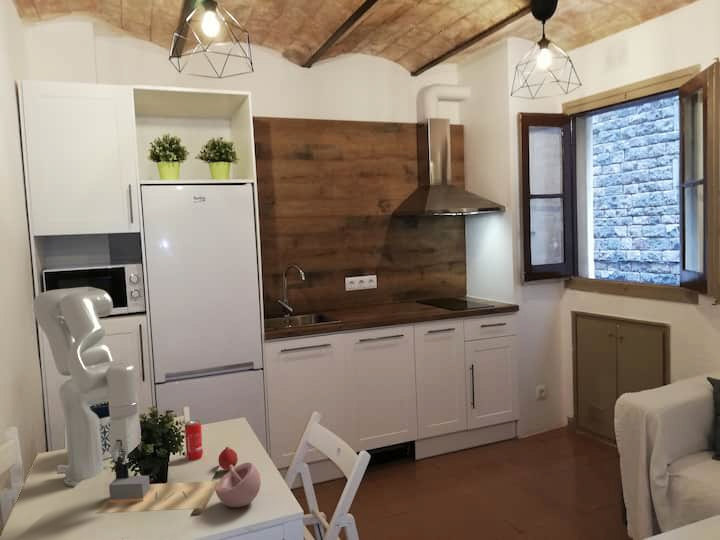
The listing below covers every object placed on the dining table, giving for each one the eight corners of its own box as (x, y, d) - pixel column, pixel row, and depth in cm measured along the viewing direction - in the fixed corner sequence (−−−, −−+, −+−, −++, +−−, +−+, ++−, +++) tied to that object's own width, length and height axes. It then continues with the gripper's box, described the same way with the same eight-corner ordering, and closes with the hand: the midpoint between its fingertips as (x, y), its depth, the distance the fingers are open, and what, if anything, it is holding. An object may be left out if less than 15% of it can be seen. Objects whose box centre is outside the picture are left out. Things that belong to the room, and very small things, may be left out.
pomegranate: (216, 470, 172) (214, 445, 171) (233, 465, 175) (231, 441, 174) (223, 476, 167) (222, 451, 166) (241, 471, 170) (239, 446, 170)
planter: (64, 460, 186) (60, 418, 185) (99, 442, 201) (96, 404, 200) (102, 464, 181) (99, 421, 180) (135, 445, 196) (132, 406, 195)
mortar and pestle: (214, 499, 153) (211, 459, 152) (257, 490, 157) (255, 451, 156) (219, 520, 141) (216, 476, 141) (265, 509, 145) (263, 467, 145)
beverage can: (189, 462, 179) (187, 426, 178) (184, 457, 183) (182, 422, 183) (205, 457, 182) (203, 422, 181) (199, 453, 186) (197, 418, 186)
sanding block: (110, 502, 150) (109, 485, 150) (118, 494, 155) (116, 476, 155) (143, 501, 150) (142, 483, 150) (150, 492, 155) (148, 475, 155)
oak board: (95, 518, 145) (95, 513, 145) (121, 490, 161) (121, 485, 161) (202, 513, 145) (201, 508, 145) (217, 485, 161) (217, 480, 161)
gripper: (124, 401, 160) (129, 459, 160) (95, 420, 142) (101, 485, 143) (149, 399, 160) (155, 457, 160) (124, 418, 142) (130, 483, 143)
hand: (130, 470), depth 152 cm, fingers open, 9 cm apart
